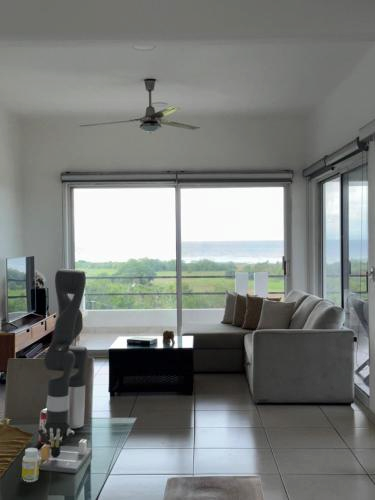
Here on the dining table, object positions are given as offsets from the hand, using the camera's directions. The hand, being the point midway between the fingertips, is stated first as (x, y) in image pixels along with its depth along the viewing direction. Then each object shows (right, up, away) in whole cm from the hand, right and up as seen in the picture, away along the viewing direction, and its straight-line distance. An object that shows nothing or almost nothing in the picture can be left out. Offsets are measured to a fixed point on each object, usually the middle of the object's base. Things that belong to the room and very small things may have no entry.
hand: (55, 456), depth 206 cm
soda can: (-7, -2, +22) cm, 23 cm away
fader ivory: (+8, -1, +7) cm, 11 cm away
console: (+1, -2, +4) cm, 5 cm away
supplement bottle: (-5, -3, -14) cm, 15 cm away
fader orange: (-4, -1, 0) cm, 4 cm away
